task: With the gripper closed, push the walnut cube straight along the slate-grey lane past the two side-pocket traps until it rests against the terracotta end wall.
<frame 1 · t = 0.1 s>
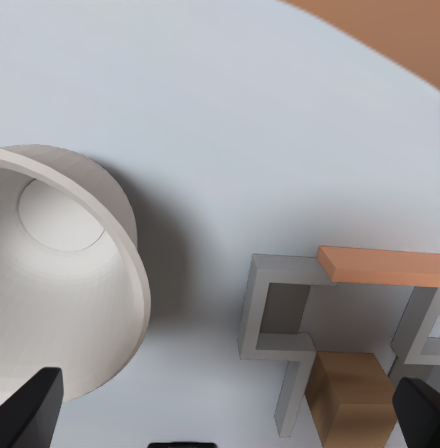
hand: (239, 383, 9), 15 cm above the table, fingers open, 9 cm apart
walnut block: (337, 373, 30), resting in trap lane
trap lane: (348, 343, 29), on the table
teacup: (52, 211, 22), on the table
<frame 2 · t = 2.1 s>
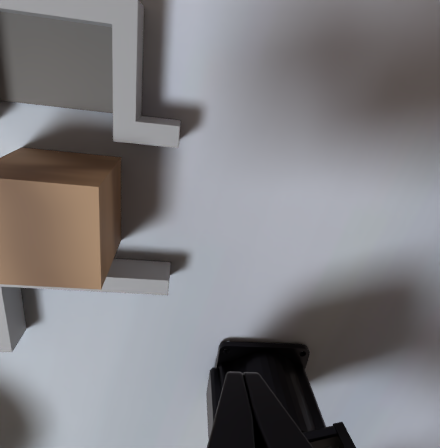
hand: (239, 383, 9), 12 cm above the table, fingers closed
walnut block: (75, 196, 19), resting in trap lane
trap lane: (7, 191, 18), on the table
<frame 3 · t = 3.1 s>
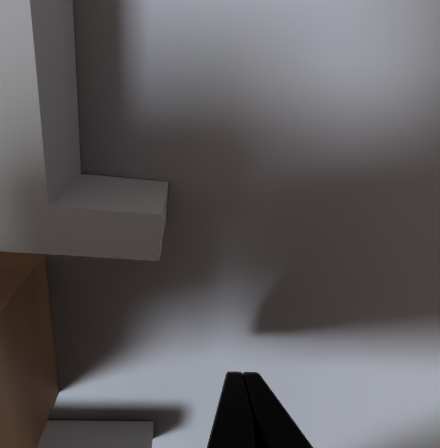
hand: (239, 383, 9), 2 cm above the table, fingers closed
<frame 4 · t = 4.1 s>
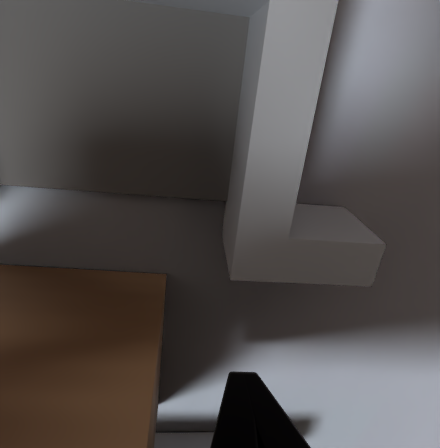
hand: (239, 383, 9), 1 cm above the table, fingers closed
walnut block: (72, 344, 10), resting in trap lane, touching gripper
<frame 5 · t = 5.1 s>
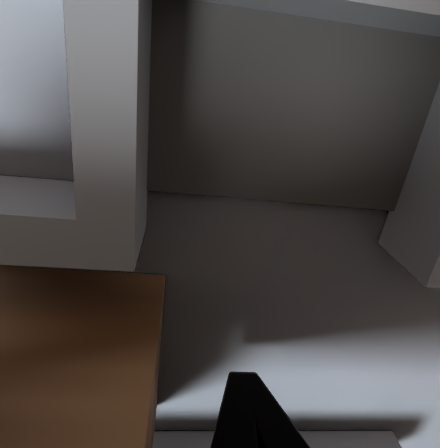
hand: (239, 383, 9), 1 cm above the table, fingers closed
walnut block: (70, 344, 10), resting in trap lane, touching gripper
trap lane: (142, 344, 10), on the table
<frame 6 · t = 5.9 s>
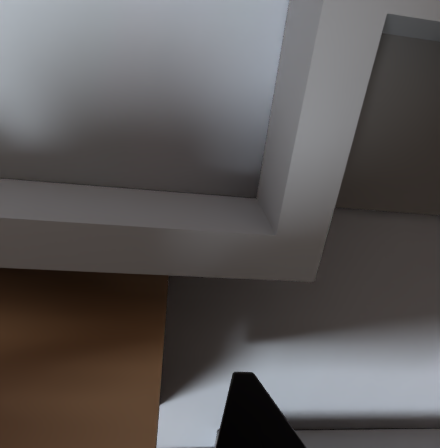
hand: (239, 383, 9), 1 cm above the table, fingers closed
walnut block: (73, 344, 10), resting in trap lane, touching gripper
trap lane: (263, 348, 10), on the table
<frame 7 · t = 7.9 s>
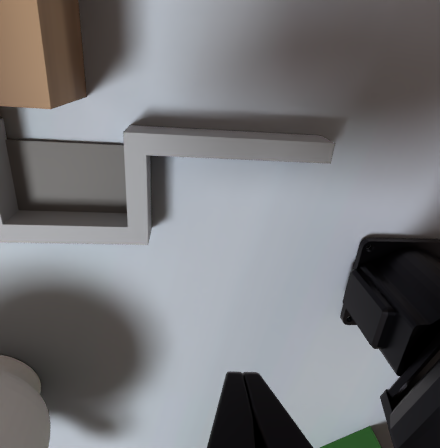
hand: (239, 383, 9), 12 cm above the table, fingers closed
walnut block: (24, 33, 15), resting in trap lane
trap lane: (148, 42, 16), on the table
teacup: (12, 393, 24), on the table
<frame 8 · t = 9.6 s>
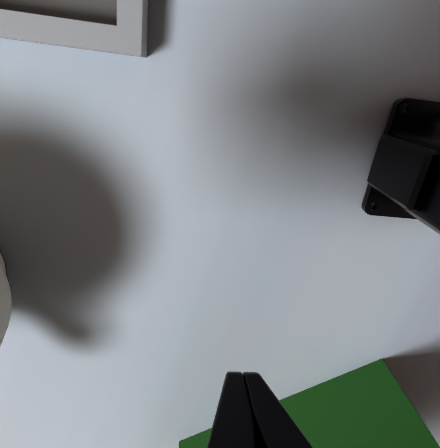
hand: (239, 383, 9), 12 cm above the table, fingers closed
hardback book: (292, 425, 29), on the table
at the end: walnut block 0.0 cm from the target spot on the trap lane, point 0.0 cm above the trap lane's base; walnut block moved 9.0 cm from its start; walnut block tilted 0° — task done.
